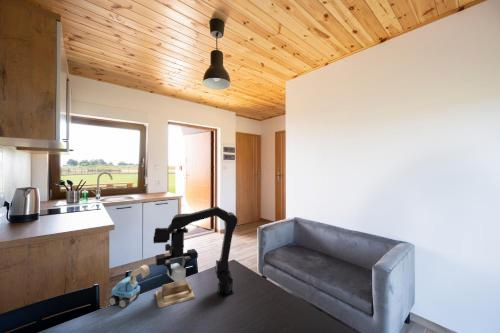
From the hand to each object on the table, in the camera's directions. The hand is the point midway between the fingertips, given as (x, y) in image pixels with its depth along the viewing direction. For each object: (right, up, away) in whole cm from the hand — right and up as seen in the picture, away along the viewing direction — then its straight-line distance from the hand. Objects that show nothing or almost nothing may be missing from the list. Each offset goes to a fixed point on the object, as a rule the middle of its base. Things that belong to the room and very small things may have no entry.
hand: (176, 274), depth 102 cm
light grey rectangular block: (0, -1, 0) cm, 1 cm away
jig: (-1, -11, +2) cm, 11 cm away
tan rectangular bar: (-1, -10, +2) cm, 10 cm away
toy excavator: (-20, -11, -4) cm, 23 cm away
